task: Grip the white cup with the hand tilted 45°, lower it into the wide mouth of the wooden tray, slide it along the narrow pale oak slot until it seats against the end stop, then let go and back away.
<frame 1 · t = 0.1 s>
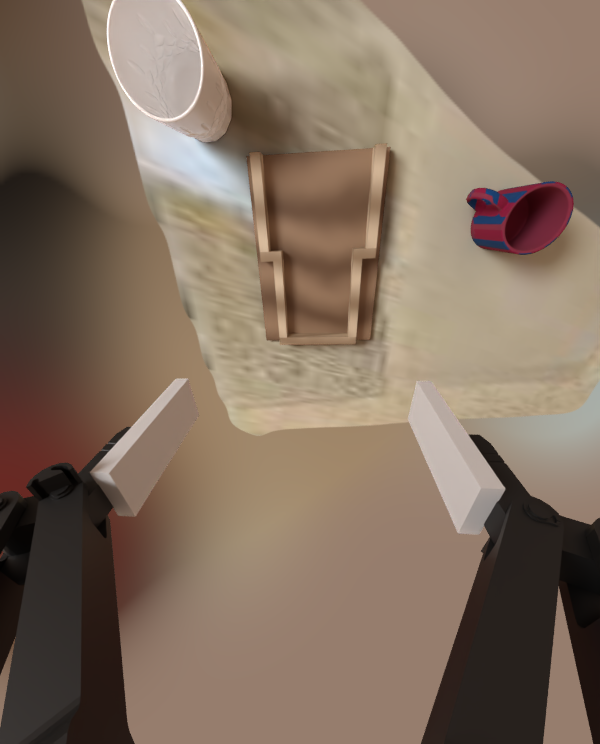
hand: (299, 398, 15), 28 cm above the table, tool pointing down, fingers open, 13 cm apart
wooden tray: (317, 260, 37), on the table
mug: (488, 213, 33), on the table
white cup: (204, 105, 30), on the table
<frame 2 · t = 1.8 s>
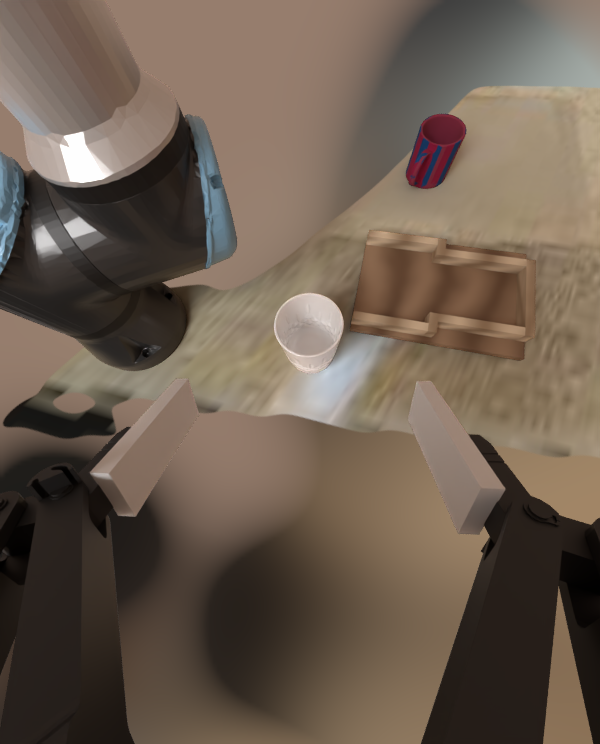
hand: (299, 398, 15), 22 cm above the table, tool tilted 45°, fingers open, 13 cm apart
wooden tray: (436, 293, 39), on the table
mug: (418, 180, 45), on the table
white cup: (311, 352, 39), on the table
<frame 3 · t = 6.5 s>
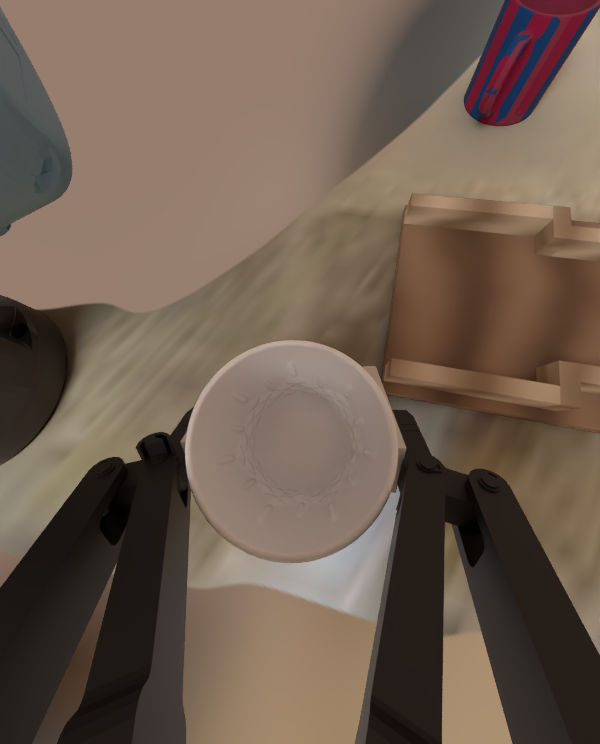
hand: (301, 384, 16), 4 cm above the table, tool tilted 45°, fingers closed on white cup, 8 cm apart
wooden tray: (549, 315, 20), on the table
mug: (487, 114, 26), on the table
white cup: (303, 439, 19), on the table, touching gripper
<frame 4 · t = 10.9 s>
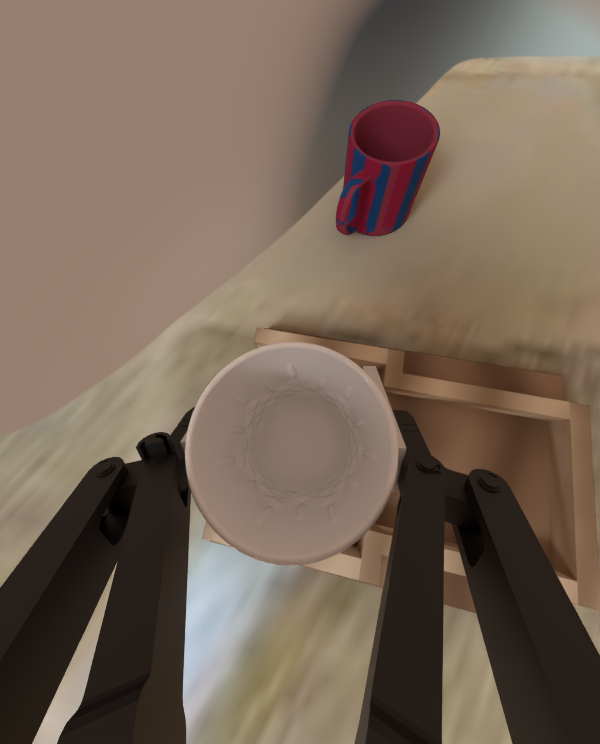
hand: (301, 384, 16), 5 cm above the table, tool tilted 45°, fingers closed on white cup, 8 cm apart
wooden tray: (388, 455, 20), on the table
mug: (363, 220, 26), on the table
white cup: (303, 440, 19), point 2 cm above the table, touching gripper
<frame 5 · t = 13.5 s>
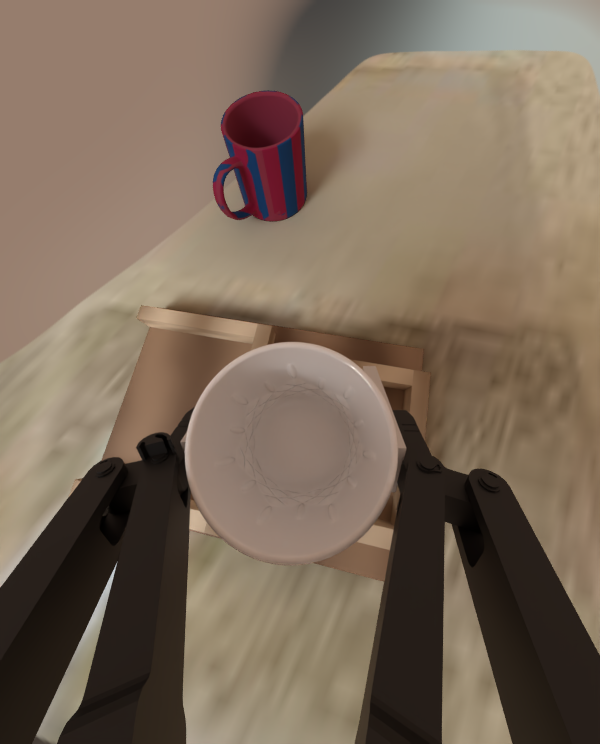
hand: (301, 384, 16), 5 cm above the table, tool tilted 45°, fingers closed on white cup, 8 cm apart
wooden tray: (261, 424, 21), on the table
mug: (264, 207, 27), on the table
white cup: (303, 440, 19), point 2 cm above the table, touching gripper
when the fingers open (5 cm above the table, at t = 15.6 s): white cup stays where it is, resting on wooden tray.
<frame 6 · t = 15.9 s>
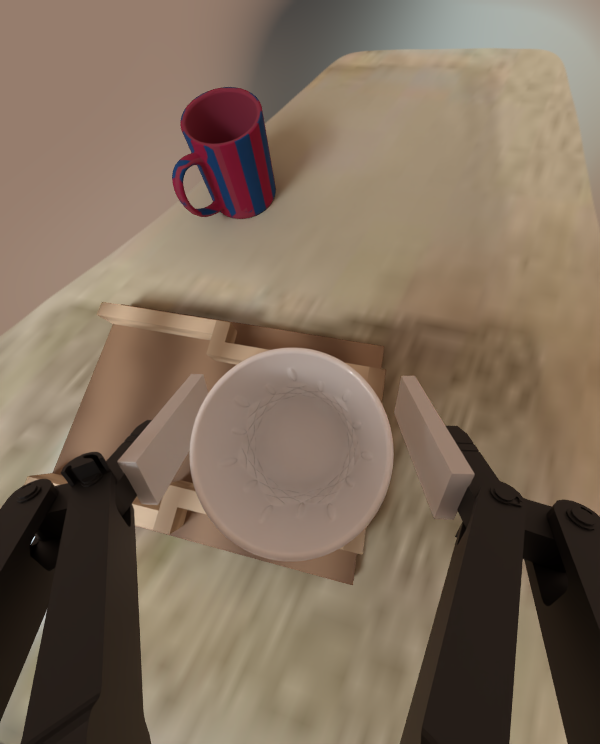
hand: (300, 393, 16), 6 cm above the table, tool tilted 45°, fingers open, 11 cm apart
wooden tray: (221, 421, 21), on the table
mug: (233, 205, 27), on the table
white cup: (304, 441, 20), point 1 cm above the table, touching wooden tray
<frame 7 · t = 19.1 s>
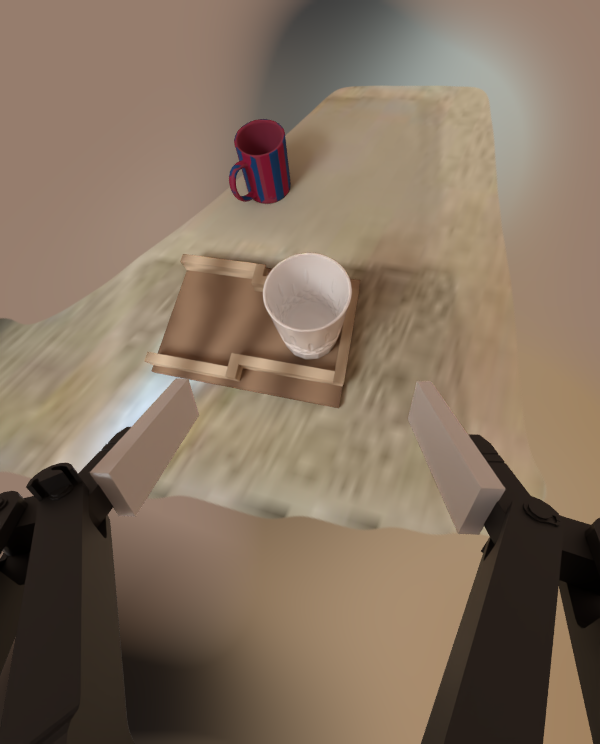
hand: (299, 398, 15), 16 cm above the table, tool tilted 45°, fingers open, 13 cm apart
wooden tray: (258, 327, 34), on the table
mug: (262, 194, 40), on the table
white cup: (310, 335, 33), point 1 cm above the table, touching wooden tray
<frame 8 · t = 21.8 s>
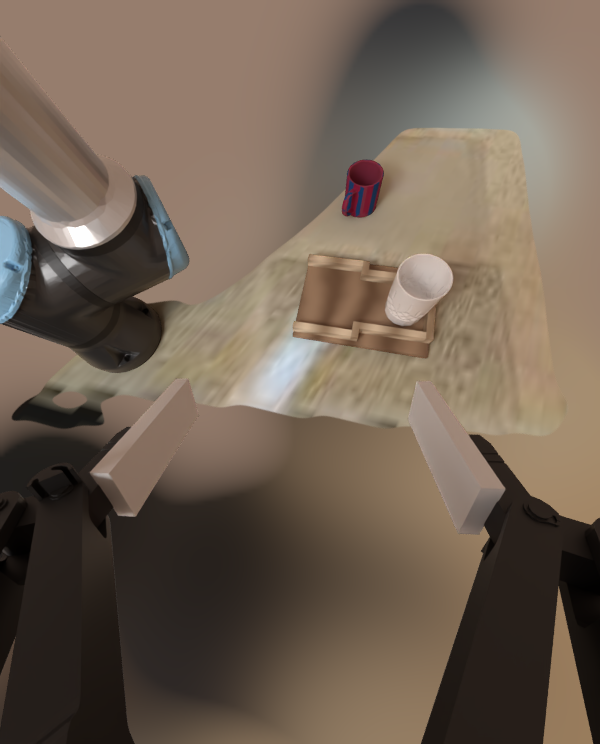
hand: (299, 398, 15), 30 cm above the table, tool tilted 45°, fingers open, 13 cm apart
wooden tray: (364, 305, 49), on the table
mug: (354, 210, 55), on the table
white cup: (402, 310, 47), point 1 cm above the table, touching wooden tray
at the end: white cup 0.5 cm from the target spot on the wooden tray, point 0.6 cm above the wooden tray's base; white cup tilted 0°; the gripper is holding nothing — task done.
